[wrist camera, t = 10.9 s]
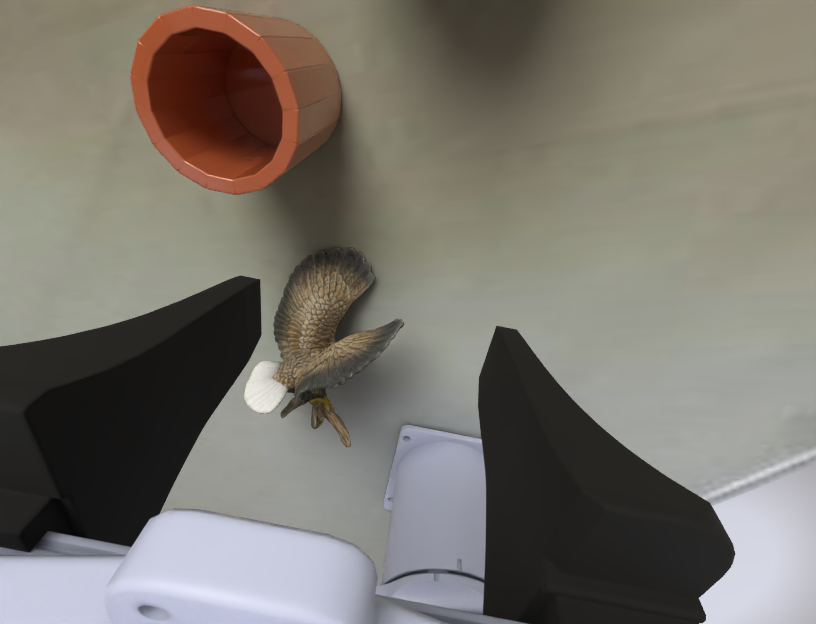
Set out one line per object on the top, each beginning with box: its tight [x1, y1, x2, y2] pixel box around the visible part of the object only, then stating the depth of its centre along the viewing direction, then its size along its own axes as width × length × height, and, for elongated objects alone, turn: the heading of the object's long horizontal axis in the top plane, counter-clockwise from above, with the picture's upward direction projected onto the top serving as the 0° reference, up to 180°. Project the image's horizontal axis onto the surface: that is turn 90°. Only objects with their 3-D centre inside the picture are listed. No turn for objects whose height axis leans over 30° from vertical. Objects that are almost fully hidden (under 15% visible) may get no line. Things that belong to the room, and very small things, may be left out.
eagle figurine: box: [244, 248, 404, 447], centre depth 22 cm, size 8×7×9 cm
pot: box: [130, 5, 341, 195], centre depth 16 cm, size 5×5×6 cm
